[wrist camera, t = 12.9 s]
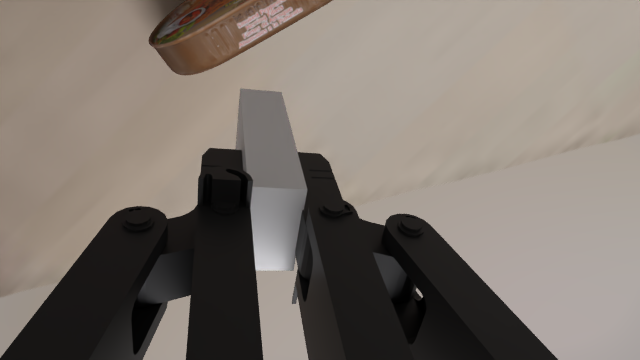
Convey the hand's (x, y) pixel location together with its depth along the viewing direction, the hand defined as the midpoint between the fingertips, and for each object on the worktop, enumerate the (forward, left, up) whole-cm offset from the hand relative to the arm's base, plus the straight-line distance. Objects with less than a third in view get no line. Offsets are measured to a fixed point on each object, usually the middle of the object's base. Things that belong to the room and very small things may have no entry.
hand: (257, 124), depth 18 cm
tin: (+1, +1, -21) cm, 21 cm away
